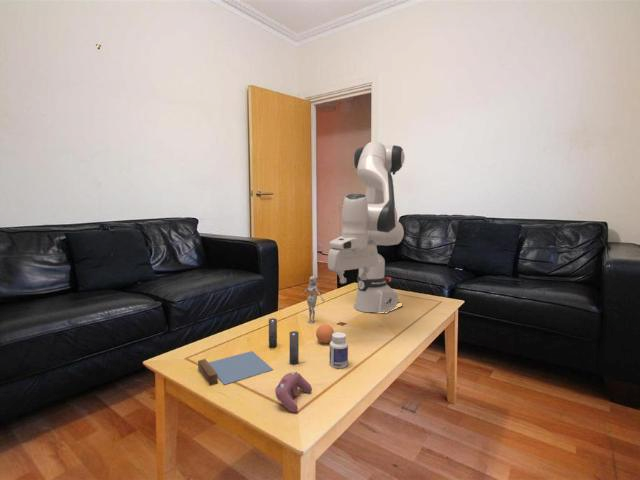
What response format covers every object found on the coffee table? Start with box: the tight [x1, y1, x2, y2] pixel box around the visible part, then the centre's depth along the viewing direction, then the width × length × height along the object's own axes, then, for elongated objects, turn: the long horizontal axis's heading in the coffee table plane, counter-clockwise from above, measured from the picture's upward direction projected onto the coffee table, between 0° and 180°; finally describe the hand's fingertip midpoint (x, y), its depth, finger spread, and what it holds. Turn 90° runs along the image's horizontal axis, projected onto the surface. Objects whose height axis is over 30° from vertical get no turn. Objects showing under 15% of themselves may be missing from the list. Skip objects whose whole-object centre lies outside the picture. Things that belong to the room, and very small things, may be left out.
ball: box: [315, 323, 335, 344], centre depth 114 cm, size 6×6×6 cm
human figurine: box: [300, 275, 326, 325], centre depth 132 cm, size 12×4×18 cm, turn 48°
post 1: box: [268, 317, 278, 349], centre depth 110 cm, size 3×3×9 cm
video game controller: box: [274, 371, 313, 413], centre depth 81 cm, size 10×5×7 cm, turn 159°
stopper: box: [197, 358, 219, 386], centre depth 92 cm, size 2×10×2 cm, turn 36°
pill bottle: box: [329, 332, 349, 369], centre depth 99 cm, size 5×5×9 cm
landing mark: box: [207, 350, 274, 386], centre depth 97 cm, size 14×14×1 cm
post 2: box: [289, 330, 300, 366], centre depth 99 cm, size 3×3×9 cm
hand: (353, 281), depth 119 cm, fingers open, 8 cm apart
